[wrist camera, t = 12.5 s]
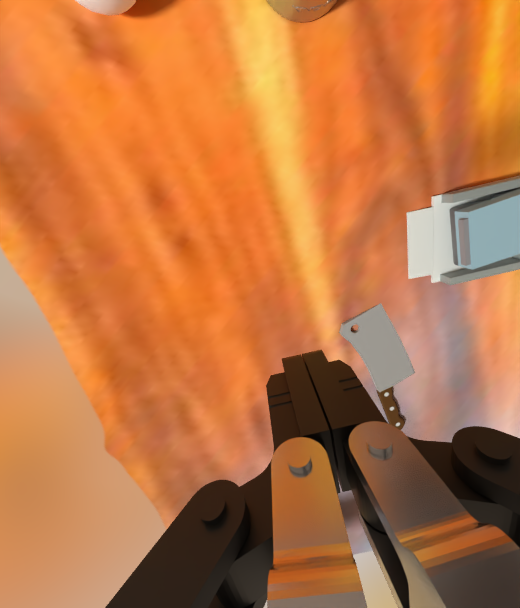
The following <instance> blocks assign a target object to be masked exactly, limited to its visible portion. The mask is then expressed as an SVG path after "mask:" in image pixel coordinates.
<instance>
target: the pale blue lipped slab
mask: <svg viewBox="0 0 520 608" xmlns="http://www.w3.org/2000/svg"><path fill="white" fill-rule="evenodd" d="M449 211H450V224H451V236H452V249H453V262H454V264H455V265H457V266H461V267H464V268H468V269H471V270H473V269H476V268H479V267H482V266H485V265H488V264H491V263H494V262H497V261H500V260H503V259H506V258H509V257H512V256H515V255H518V254H520V187H518V188H514V189H510V190H506V191H502V192H497V193H493V194H492V195H491V199H489V200H480V201H473V202H468V203H464V204H461V205H458V206H455V207H453V208H451V209H450V210H449Z"/></svg>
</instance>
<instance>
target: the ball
mask: <svg viewBox="0 0 520 608" xmlns="http://www.w3.org/2000/svg"><path fill="white" fill-rule="evenodd" d="M76 1H77V2H78V3H79V4H80V5H82V6H84V7H85V8H87V9H89V10H91V11H93V12H96V13H100V14H104V15H108V16H109V15H119V14H121V13H124V12H126V11H128V10H129V9H130V8H131V7H132V6H133V5H134V4H135V2H136V0H76Z"/></svg>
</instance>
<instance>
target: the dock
mask: <svg viewBox="0 0 520 608" xmlns="http://www.w3.org/2000/svg"><path fill="white" fill-rule="evenodd" d="M518 187H520V176H516V177H512V178H507V179H503V180H499V181H495V182H491V183H486V184H482V185H478V186H474V187H470V188H465V189H461V190H457V191H453V192H449V193H444V194H440V195H436V196H432V207H430V208H425V209H421V210H416V211H412V212H407V242H408V279H411V278H417V277H422V276H427V275H431V282H432V283H434V282H439V281H441V282H443V283H446V284H448V285H454V284H458V283H462V282H467V281H471V280H475V279H480V278H484V277H488V276H493V275H497V274H501V273H506V272H510V271H514V270H519V269H520V254H518V255H515V256H512V257H509V258H506V259H503V260H500V261H497V262H494V263H491V264H488V265H485V266H482V267H479V268H476V269H473V270H471V269H468V268H464V267H461V266H457V265H455V264H454V262H453V249H452V236H451V224H450V211H449V210H450V209H451V208H453V207H455V206H458V205H461V204H464V203H468V202H473V201H480V200H489V199H491V195H492V194H493V193H497V192H502V191H506V190H510V189H514V188H518Z"/></svg>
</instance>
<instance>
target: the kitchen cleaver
mask: <svg viewBox="0 0 520 608" xmlns="http://www.w3.org/2000/svg"><path fill="white" fill-rule="evenodd" d="M355 324H357V325H358V326H359V327H358V330H357V331H354V332H352V331H351V327H352V326H353V325H355ZM339 333H340V334H341V335H342V336H343V337H344V338H345V339H347V340H348V341H349V342H350V343H351V344H352V345H353V347H354V348H355V349H356V351H357V352H358V353H359V355H360V356H361V358H362V359H363V361H364V363H365V365H366V367H367V368H368V371H369V373H370V375H371V377H372V380H373V382H374V384H375V387H376V389H377V393H378V396H379V398H380V401H381V403H382V406H383V409H384V411H385V414H386V416H387V419H388V421H389V424H390V425H393V426H395V427H396V428H398V429H399V430H401V429H402V428H403V426H404V424H405V422H404V419H403V418H402V417H400V416H399V414H398V413H399V410H398V407H397V405H396V402H395V401H394V400H393V397H392V395H393V391H392V387H393V386H394V385H396V384H397V383H399V382H401V381H402V380H404V379H406V378H407V377H409V376H411V375H412V374H414V373H415V371H414V369H413V366H412V364H411V361H410V359H409V357H408V354H407V352H406V350H405V348H404V346H403V344H402V342H401V339H400V337H399V336H398V334H397V332H396V330H395V328H394V326H393V324H392V323H391V321H390V319H389V318H388V316H387V314H386V312H385V310H384V308H383V306H382V305H381V303H380V304H378V305H376V306H375V307H373V308H371V309H369V310H367V311H365V312H363V313H361V314H359V315H357V316H355V317H353V318H351V319H349V320H347V321H345V322H343V323H342V325H341V328H340V332H339Z"/></svg>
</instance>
